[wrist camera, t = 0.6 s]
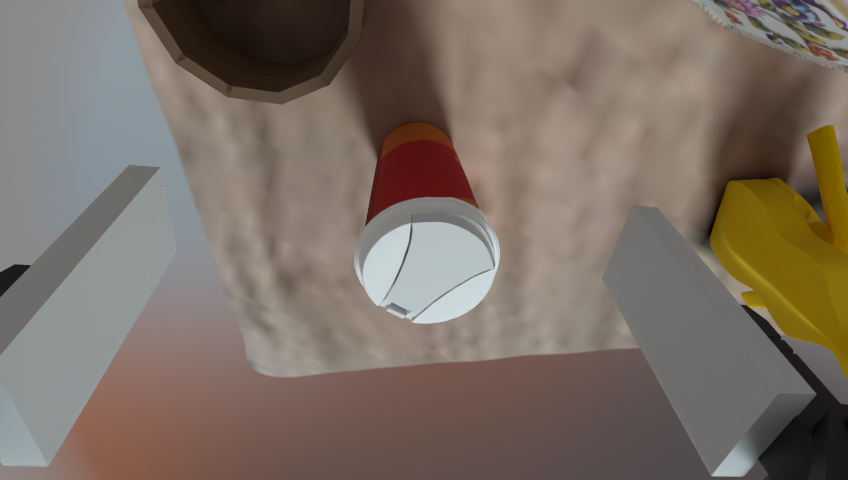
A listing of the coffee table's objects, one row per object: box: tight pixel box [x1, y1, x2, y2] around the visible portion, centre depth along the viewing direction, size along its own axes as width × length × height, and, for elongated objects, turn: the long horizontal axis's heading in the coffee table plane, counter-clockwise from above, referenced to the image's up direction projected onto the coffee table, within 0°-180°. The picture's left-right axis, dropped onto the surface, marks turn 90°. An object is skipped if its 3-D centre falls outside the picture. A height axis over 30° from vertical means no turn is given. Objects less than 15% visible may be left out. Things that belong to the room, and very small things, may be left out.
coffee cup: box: [354, 122, 500, 323], centre depth 33 cm, size 8×8×15 cm
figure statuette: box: [710, 125, 848, 380], centre depth 35 cm, size 18×8×22 cm, turn 3°
